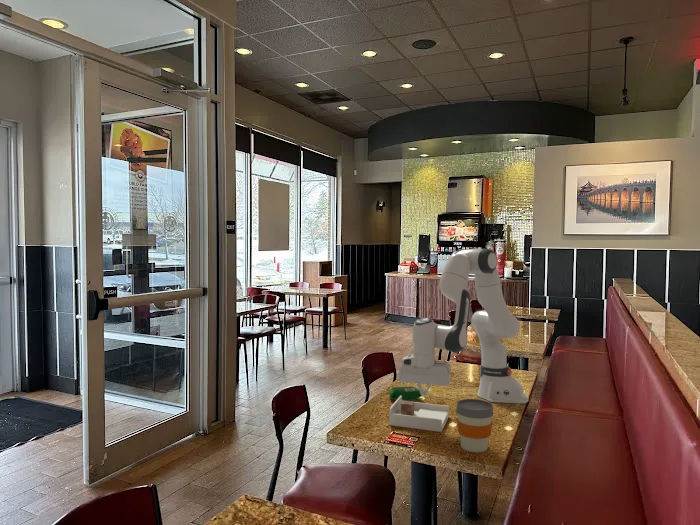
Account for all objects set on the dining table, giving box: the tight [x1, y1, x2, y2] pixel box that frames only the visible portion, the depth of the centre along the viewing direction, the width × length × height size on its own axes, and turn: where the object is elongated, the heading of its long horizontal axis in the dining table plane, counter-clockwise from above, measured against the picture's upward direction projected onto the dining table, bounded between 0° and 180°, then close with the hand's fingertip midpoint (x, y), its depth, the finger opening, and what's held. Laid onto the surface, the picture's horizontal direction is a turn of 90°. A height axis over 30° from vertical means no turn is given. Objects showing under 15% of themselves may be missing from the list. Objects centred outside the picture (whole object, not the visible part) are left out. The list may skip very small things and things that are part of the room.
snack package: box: [388, 386, 423, 402], centre depth 231 cm, size 7×16×5 cm, turn 95°
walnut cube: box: [401, 400, 415, 416], centre depth 204 cm, size 4×4×4 cm
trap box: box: [388, 396, 450, 433], centre depth 203 cm, size 20×17×6 cm
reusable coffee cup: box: [455, 398, 494, 453], centre depth 178 cm, size 13×13×15 cm
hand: (424, 394), depth 202 cm, fingers closed
